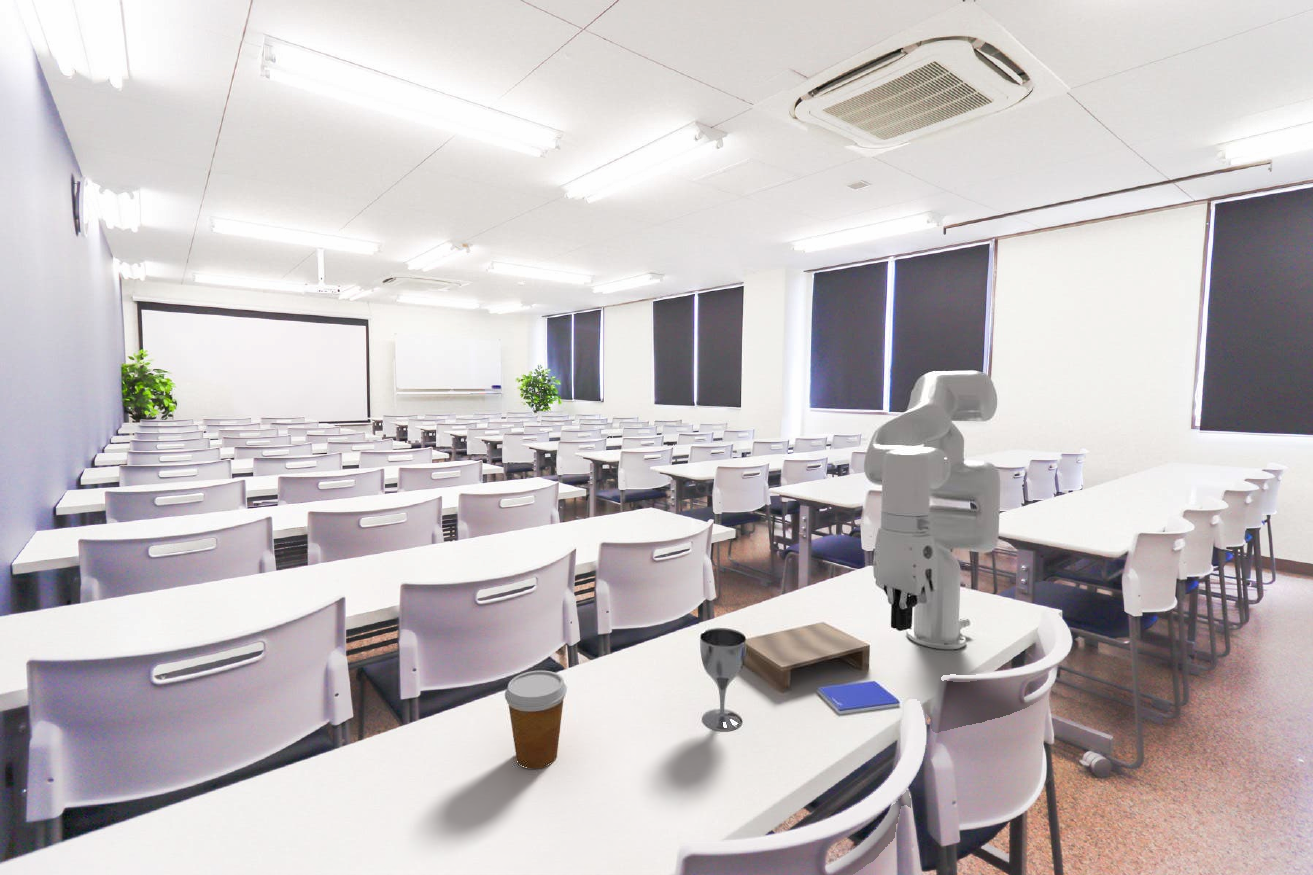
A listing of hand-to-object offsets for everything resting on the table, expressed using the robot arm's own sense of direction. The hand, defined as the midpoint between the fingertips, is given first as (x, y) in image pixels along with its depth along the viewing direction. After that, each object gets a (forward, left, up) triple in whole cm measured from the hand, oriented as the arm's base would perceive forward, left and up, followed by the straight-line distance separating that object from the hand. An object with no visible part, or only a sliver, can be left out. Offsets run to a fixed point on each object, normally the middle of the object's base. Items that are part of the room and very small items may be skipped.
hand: (901, 627), depth 101 cm
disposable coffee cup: (+59, -19, -17) cm, 64 cm away
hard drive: (0, -9, -18) cm, 20 cm away
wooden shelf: (0, -25, -17) cm, 30 cm away
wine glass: (+27, -15, -17) cm, 35 cm away
